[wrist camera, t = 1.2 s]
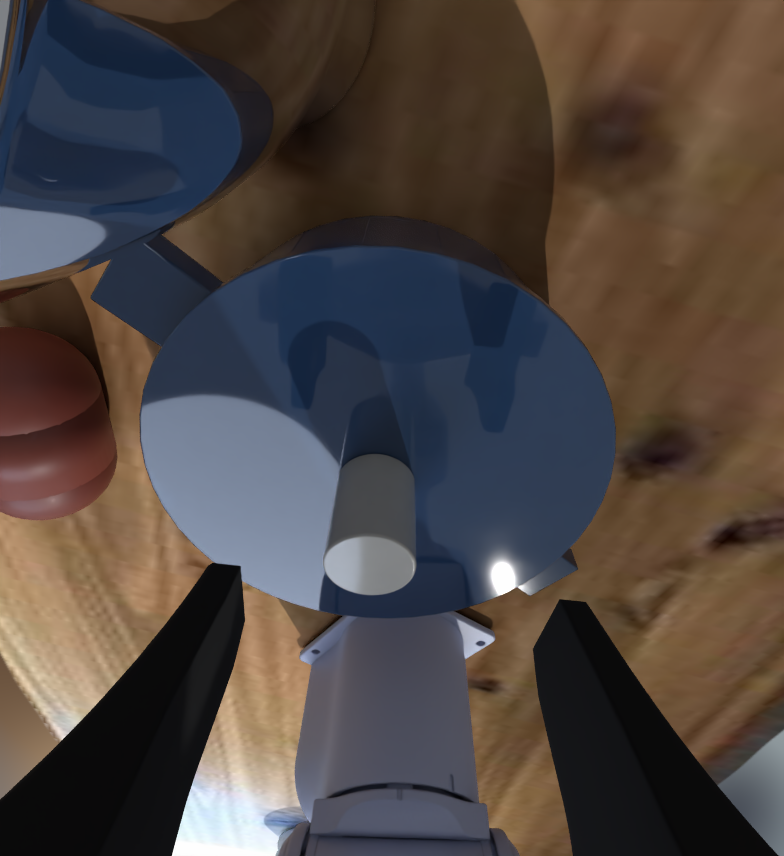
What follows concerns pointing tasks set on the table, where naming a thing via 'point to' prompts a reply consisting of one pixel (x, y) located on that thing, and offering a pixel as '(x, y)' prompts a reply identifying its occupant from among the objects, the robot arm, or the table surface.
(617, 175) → the table surface
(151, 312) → the pan
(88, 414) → the red ribbed oval
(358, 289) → the pan lid
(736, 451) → the table surface
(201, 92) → the beer glass
